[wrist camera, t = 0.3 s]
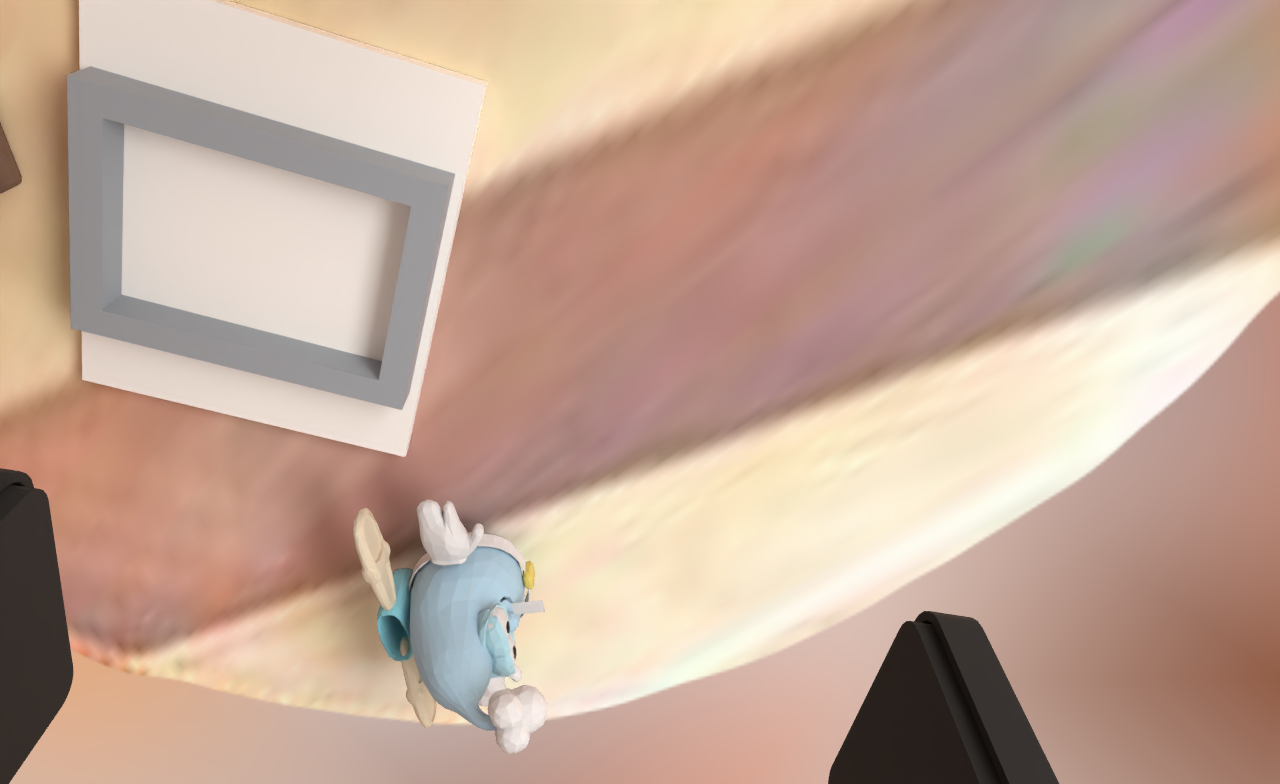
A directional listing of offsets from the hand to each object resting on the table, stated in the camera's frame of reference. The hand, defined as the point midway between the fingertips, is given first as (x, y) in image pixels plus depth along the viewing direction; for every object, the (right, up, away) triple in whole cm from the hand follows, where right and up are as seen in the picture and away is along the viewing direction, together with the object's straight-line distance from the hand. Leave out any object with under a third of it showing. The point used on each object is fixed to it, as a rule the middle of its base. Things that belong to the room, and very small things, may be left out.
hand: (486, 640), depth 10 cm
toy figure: (-8, -8, +47) cm, 48 cm away
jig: (-17, +11, +36) cm, 41 cm away
